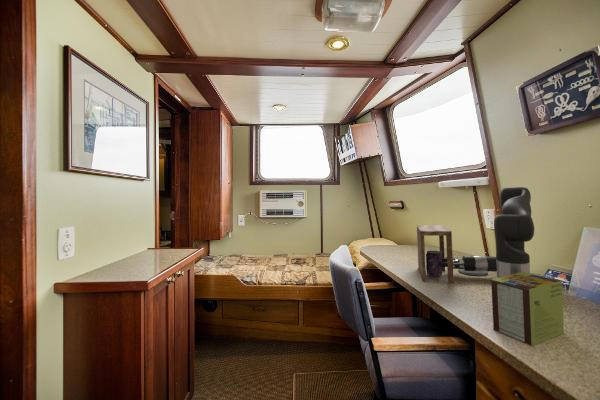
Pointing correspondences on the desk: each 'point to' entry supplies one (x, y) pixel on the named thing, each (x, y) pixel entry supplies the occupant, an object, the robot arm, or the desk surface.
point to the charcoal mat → (473, 272)
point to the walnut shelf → (441, 232)
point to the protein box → (527, 307)
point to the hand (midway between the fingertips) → (437, 262)
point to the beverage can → (433, 263)
